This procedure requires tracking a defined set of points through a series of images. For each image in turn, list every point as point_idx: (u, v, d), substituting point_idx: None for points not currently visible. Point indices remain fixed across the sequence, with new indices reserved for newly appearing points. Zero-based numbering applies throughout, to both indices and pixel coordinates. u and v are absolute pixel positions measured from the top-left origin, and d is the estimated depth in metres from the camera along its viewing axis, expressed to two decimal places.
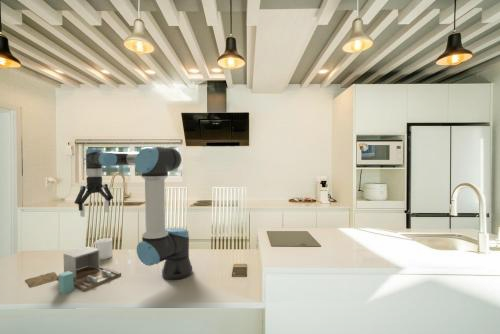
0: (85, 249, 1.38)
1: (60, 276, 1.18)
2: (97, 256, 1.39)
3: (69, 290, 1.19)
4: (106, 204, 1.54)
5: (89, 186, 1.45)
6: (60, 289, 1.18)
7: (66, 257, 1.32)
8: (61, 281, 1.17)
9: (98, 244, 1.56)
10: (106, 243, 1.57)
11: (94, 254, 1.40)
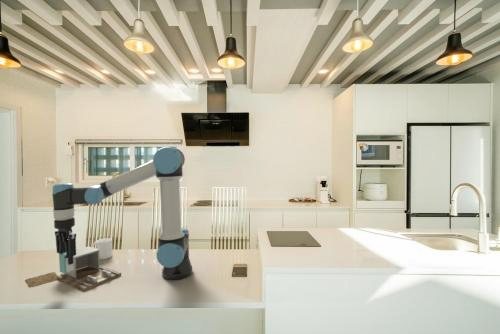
0: (85, 249, 1.38)
1: (60, 255, 1.17)
2: (97, 256, 1.39)
3: None
4: None
5: (58, 230, 1.19)
6: (61, 269, 1.18)
7: None
8: (61, 260, 1.17)
9: (98, 244, 1.56)
10: (106, 243, 1.57)
11: (94, 254, 1.40)
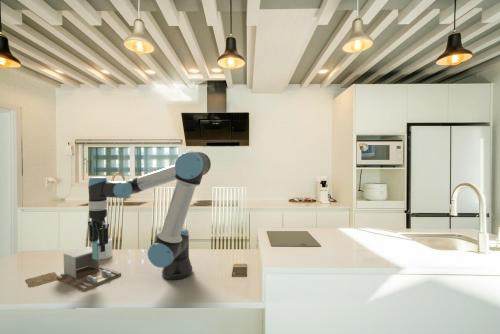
0: (85, 249, 1.38)
1: (93, 243, 1.27)
2: None
3: None
4: None
5: (91, 220, 1.29)
6: (93, 255, 1.27)
7: (66, 257, 1.32)
8: (94, 248, 1.26)
9: None
10: None
11: None
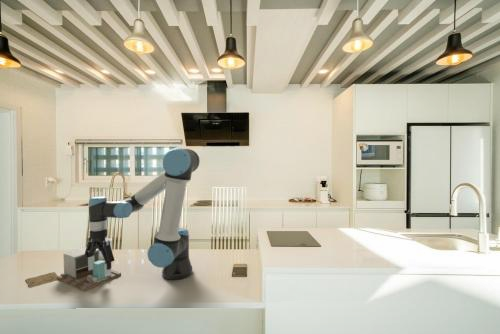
0: (85, 249, 1.38)
1: (94, 264, 1.27)
2: (97, 256, 1.39)
3: (102, 277, 1.28)
4: None
5: (92, 239, 1.29)
6: (94, 276, 1.27)
7: (66, 257, 1.32)
8: (95, 269, 1.27)
9: None
10: None
11: (94, 254, 1.40)
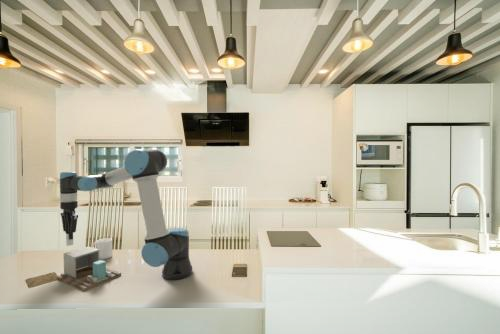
0: (85, 249, 1.38)
1: (94, 264, 1.27)
2: (97, 256, 1.39)
3: (102, 277, 1.28)
4: None
5: (63, 211, 1.41)
6: (94, 276, 1.27)
7: (66, 257, 1.32)
8: (95, 269, 1.27)
9: (98, 244, 1.56)
10: (106, 243, 1.57)
11: (94, 254, 1.40)
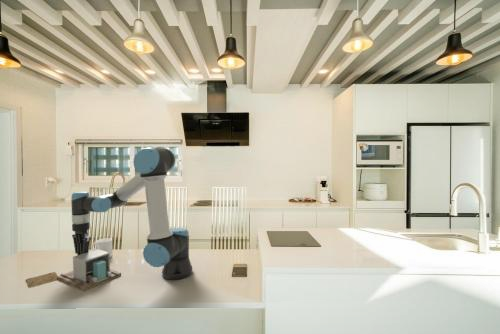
0: (95, 253, 1.34)
1: (94, 264, 1.27)
2: (107, 259, 1.34)
3: (102, 277, 1.28)
4: None
5: (75, 232, 1.36)
6: (94, 276, 1.27)
7: (76, 260, 1.27)
8: (95, 269, 1.27)
9: (98, 244, 1.56)
10: (106, 243, 1.56)
11: (104, 257, 1.36)
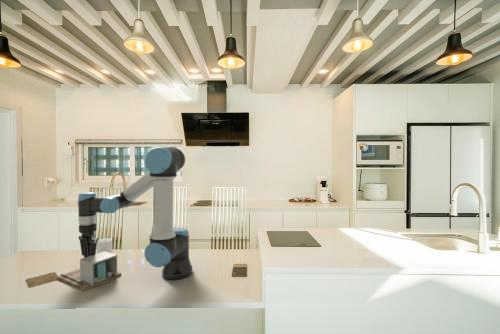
0: (102, 255, 1.31)
1: (94, 264, 1.27)
2: (115, 262, 1.31)
3: (102, 277, 1.28)
4: None
5: None
6: (94, 276, 1.27)
7: (83, 263, 1.24)
8: (95, 269, 1.27)
9: (98, 244, 1.56)
10: (106, 243, 1.57)
11: (111, 259, 1.33)
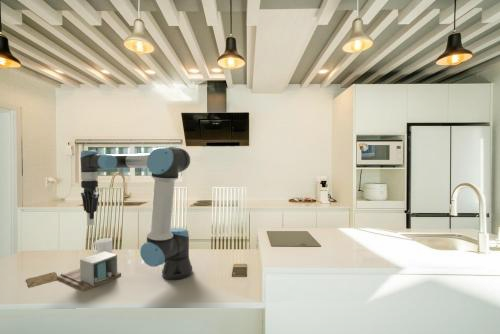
0: (102, 255, 1.31)
1: (94, 264, 1.27)
2: (115, 262, 1.31)
3: (102, 277, 1.28)
4: None
5: None
6: (94, 276, 1.27)
7: (83, 263, 1.24)
8: (95, 269, 1.27)
9: (98, 244, 1.56)
10: (106, 243, 1.56)
11: (111, 259, 1.33)
